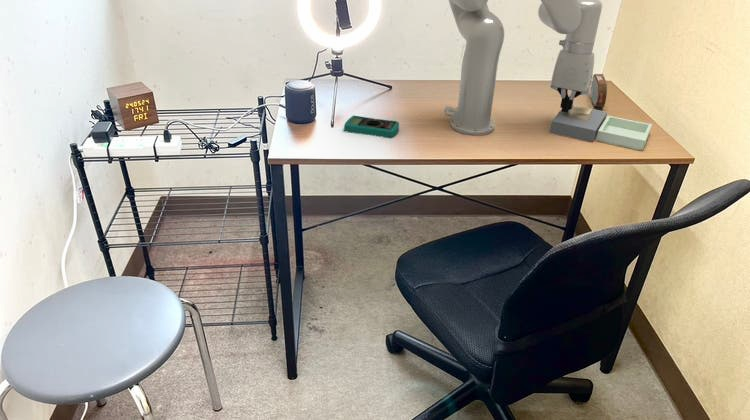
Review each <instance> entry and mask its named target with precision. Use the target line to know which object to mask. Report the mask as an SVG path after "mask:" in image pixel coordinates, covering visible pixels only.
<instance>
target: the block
mask: <svg viewBox="0 0 750 420" xmlns="http://www.w3.org/2000/svg"><path fill="white" fill-rule="evenodd" d="M574 105H575V106H574V107H573V108H572V110H571V111H570V115H569V118H574V119H579V120H584V121H588V119H589V118H590V116H591V113H592V109H593V108H590V107H584V106H579V105H576V104H574Z"/></svg>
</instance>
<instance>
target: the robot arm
mask: <svg viewBox="0 0 750 420" xmlns="http://www.w3.org/2000/svg"><path fill="white" fill-rule="evenodd" d="M540 1H541V3H540V4H539V7H538V11H537V14H538V18H539V20H540V21H541V22H542V23H543V24H544V25H545V26H546V27H549V28H550V29H551V30H553V31H555V32H556V33H557V34H560V35H565V38H564V39H560V40H559V42H558V45H559V46H562V49H560V51H558V52H559V53H558V54H557V58H556V61H555V65H554V69H553V71H552V76H551V82H550V89H552V90H555V91H557V92H558V93H559V95H560V98H561V101H560V108H561V109H562V111H561V112H564V111H565V113H567V112H568V111H569V109H570V110H571V109H572V105H574V99H576V98H578V97H579V96H587V95H588V96H589V95H590V94H591V85H592V78H593V75H594V73H593V72H594V65H595V53H594V52H593V49H594V46H595V41H596V35H597V32H598V27H599V22H600V17H601V13H602V8H603V3H602V1H601V0H540ZM488 2H489V0H448V3H449V6H450V9H451V12H452V16H453V18H454V21H455V23H456V26H457V30H458V32H459V34H460V35H461V36H462V38H463V39H464V40H465V41H466V43H465V49H464V53H463V56H462V63H461V69H460V83H459V93H458V102H457V106H456V107H452V106H448V105H446V106H445V107H444V115H445V116H446V117H447V116H448V117H451V120H450V127H451V128H452V129H453V130H454V131H456V132H459V133H461V134H465V135H470V136H471V135H472V136H481V135H487V134H490V133H492V132H494V131H495V128H496V124H495V122H494V121H493V120H492V119H491V118H492V109H493V103H494V96H495V89H496V82H497V81H496V80H497V72H498V65H499V59H500V55H501V53H502V52H501V51H502V48H503V44H504V41H505V28H504V25H503V23H502V21H501V19H500V18H499V17H498V16H496V15H495V13H493V11H490V9H489V7H488ZM569 90H570V91H571V92H570V94H568V91H569Z"/></svg>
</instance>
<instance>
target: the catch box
mask: <svg viewBox="0 0 750 420" xmlns="http://www.w3.org/2000/svg"><path fill="white" fill-rule="evenodd" d="M652 126H653V124H652V123H647V122H642V121H636V120H631V119H626V118H621V117H617V116H613V115H607V116H606V119H605V121H604V122H603V124H602V126H601V127H600V129H599V130H598V134H597V136H596V138H595V141H596V142H600V143H604V144H608V145H613V146H616V147H622V148H628V149H630V150H635V151H641V152H643V150H644V147H645V146H646V143H647V141H648V138H649V137H650V133H651V130H652Z"/></svg>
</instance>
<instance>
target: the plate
mask: <svg viewBox="0 0 750 420" xmlns="http://www.w3.org/2000/svg"><path fill="white" fill-rule="evenodd" d="M575 105H576V104H573V105H572V108H573V107H574V106H575ZM591 109H592V113H591V116H590V118H589V119H588V121H584V120H579V119H574V118H569V115H570V111H571V110H572V109H571V110H570V109H569V111H568V112H567V113H565V111H564V112H561V111H562V108H561V109H560V110H559V112H558V113H557V114H556V115H555V116H554V117H553V118H552V120H551V121H550V126H549V132H548V133H549V134H554V135H559V136H563V137H568V138H572V139H575V140H580V141H584V142H585V141H586V142H590V143H593V142H594V141H596V138H597V134H598V130H599V129H600V127H601V126H602V124H603V122H604V121H605V119H606V118H607V116H608V111H605V110H599V109H594V108H591Z"/></svg>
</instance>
